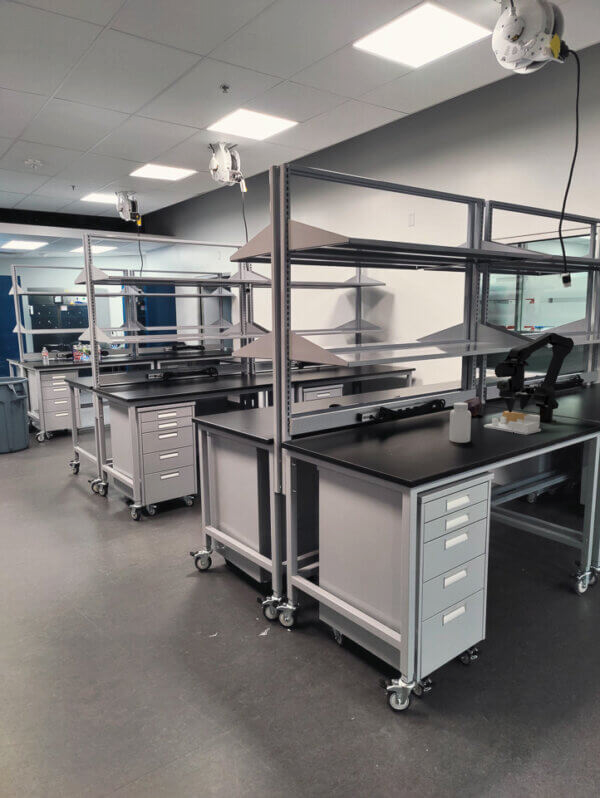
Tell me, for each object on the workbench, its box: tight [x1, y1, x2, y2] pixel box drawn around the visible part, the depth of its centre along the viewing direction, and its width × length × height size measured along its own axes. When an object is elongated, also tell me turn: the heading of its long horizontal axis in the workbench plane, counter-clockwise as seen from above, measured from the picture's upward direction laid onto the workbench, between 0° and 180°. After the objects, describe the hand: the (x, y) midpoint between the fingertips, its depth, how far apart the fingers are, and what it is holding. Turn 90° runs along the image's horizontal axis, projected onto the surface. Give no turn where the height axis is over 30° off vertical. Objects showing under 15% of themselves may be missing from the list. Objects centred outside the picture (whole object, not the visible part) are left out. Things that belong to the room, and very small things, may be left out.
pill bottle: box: [448, 401, 472, 444], centre depth 211 cm, size 8×8×15 cm
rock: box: [462, 396, 483, 417], centre depth 262 cm, size 12×9×10 cm
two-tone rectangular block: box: [501, 410, 541, 428], centre depth 239 cm, size 4×16×5 cm, turn 36°
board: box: [483, 416, 542, 436], centre depth 231 cm, size 11×20×4 cm, turn 36°
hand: (516, 410), depth 241 cm, fingers open, 9 cm apart
